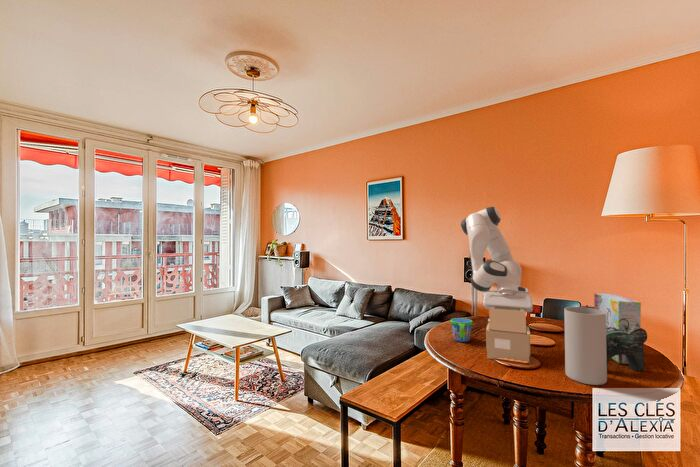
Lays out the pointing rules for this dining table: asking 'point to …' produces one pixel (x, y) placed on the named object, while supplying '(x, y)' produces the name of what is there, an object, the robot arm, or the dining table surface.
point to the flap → (507, 320)
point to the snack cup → (461, 329)
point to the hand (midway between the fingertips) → (507, 317)
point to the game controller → (627, 345)
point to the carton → (508, 344)
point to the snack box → (618, 314)
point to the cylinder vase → (585, 345)
